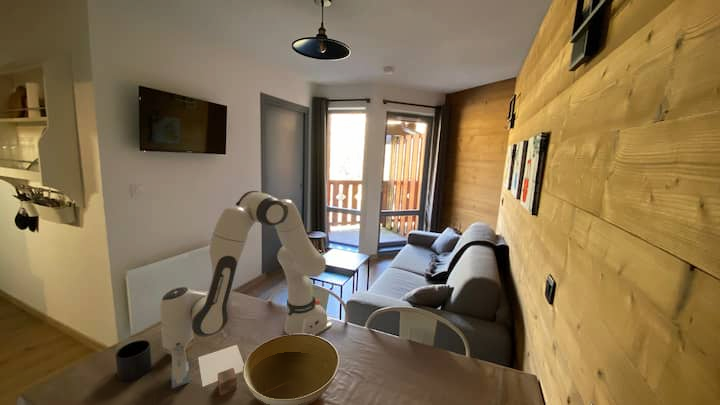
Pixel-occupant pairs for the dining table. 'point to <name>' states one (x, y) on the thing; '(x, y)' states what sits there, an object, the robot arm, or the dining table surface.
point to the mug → (133, 360)
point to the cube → (185, 379)
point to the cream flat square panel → (219, 364)
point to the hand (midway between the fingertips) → (179, 372)
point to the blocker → (227, 381)
